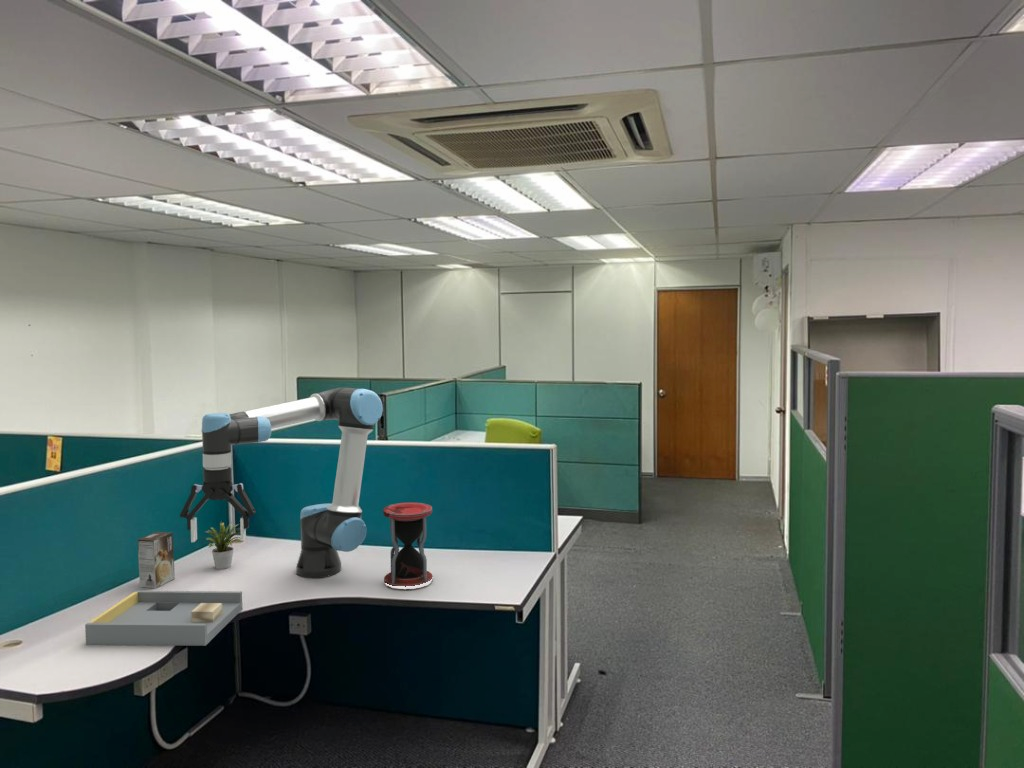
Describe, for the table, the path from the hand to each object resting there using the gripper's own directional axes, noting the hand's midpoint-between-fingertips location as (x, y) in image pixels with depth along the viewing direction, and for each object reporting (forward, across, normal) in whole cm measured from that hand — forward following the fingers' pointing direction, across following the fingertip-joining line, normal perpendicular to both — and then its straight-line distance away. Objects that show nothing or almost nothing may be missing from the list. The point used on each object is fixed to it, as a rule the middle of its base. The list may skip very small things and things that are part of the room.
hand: (218, 540), depth 198 cm
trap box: (+23, +13, +4) cm, 27 cm away
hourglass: (+23, -53, -24) cm, 63 cm away
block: (+21, +2, +5) cm, 21 cm away
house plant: (+23, +12, -45) cm, 52 cm away
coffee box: (+23, +29, -32) cm, 49 cm away
